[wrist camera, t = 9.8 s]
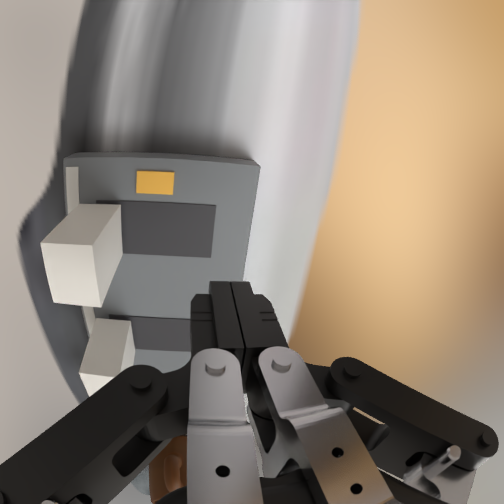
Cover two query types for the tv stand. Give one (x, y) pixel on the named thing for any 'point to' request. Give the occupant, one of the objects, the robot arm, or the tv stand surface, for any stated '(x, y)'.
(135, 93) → the tv stand surface
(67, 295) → the block
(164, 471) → the mug
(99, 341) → the block
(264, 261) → the tv stand surface
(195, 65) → the tv stand surface
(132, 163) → the breaker panel
